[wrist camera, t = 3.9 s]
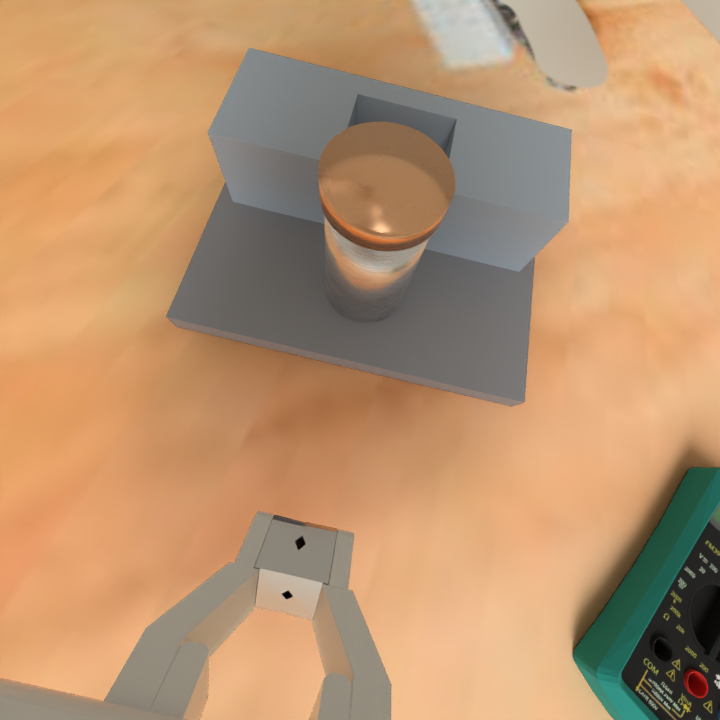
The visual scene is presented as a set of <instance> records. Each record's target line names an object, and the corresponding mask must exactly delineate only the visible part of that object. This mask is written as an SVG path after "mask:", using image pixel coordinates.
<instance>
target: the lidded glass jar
mask: <svg viewBox="0 0 720 720" xmlns="http://www.w3.org/2000/svg"><path fill="white" fill-rule="evenodd" d="M318 177H319V199H320V205H321V208H322V211H323V213H324V226H325V282H326V293H327V296H328V299H329V301H330V303H331V304H332V306H333V307H334V308H335V309H336V310H337V311H338V312H339V313H340V314H341V315H343V316H345V317H346V318H348V319H351V320H354V321H357V322H365V323H369V322H376V321H380V320H383V319H385V318H387V317H388V316H390V315H391V314H392V313H393V312H395V310H396V309H397V308H398V307H399V305H400V303H401V301H402V299H403V296H404V294H405V292H406V290H407V287H408V285H409V283H410V281H411V278H412V276H413V274H414V272H415V269H416V267H417V265H418V262H419V260H420V258H421V256H422V253H423V251H424V249H425V247H426V244H427V242H428V240H429V238H430V237H431V236H432V235H433V234H434V233H435V232H436V231H437V229H438V228H439V226H440V225H441V222H442V220H443V218H444V216H445V214H446V212H447V209H448V207H449V205H450V203H451V201H452V198H453V196H454V192H455V174H454V170H453V167H452V165H451V162H450V160H449V158H448V157H447V155H446V154H445V152H444V151H443V150H442V149H441V148H440V146H439V145H438V144H437V143H435V142H434V141H433V140H432V139H431V138H429V137H428V136H426V135H425V134H423V133H421V132H419V131H418V130H416V129H413V128H411V127H408V126H405V125H402V124H397V123H392V122H366V123H361V124H357V125H354V126H351V127H349V128H347V129H345V130H343V131H342V132H340V133H338V134H337V135H336V136H335V137H333V138H332V139H331V140H330V142H329V143H328V144H327V145H326V147H325V148H324V150H323V152H322V154H321V157H320V161H319V168H318Z"/></svg>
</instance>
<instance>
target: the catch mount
mask: <svg viewBox="0 0 720 720" xmlns="http://www.w3.org/2000/svg"><path fill="white" fill-rule="evenodd" d="M366 122H392V123H397V124H402V125H405V126H408V127H411V128H413V129H416V130H418V131H419V132H421V133H423V134H425V135H426V136H428V137H429V138H431V139H432V140H433V141H434V142H435V143H437V144H438V145H439V146H440V148H441V149H442V150H443V151H444V152H445V154H446V155H447V157H448V158H449V160H450V162H451V165H452V167H453V170H454V174H455V192H454V196H453V198H452V201H451V203H450V205H449V207H448V209H447V212H446V214H445V216H444V218H443V220H442V222H441V225H440V226H439V228H438V229H437V231H436V232H435V233H434V234H433V235H432V236H431V237H430V238H429V240H428V242H427V244H426V247H425V249H424V251H423V253H422V256H421V258H420V260H419V262H418V265H417V267H416V269H415V272H414V274H413V276H412V278H411V281H410V283H409V285H408V287H407V290H406V292H405V294H404V296H403V299H402V301H401V303H400V305H399V307H398V308H397V309H396V310H395V312H393V313H392V314H391V315H390V316H388V317H387V318H385V319H383V320H380V321H376V322H369V323H365V322H357V321H354V320H351V319H348V318H346V317H345V316H343V315H341V314H340V313H339V312H338V311H337V310H336V309H335V308H334V307H333V306H332V304H331V303H330V301H329V299H328V296H327V293H326V282H325V226H324V213H323V211H322V208H321V205H320V199H319V177H318V168H319V161H320V157H321V154H322V152H323V150H324V148H325V147H326V145H327V144H328V143H329V142H330V140H331V139H332V138H333V137H335V136H336V135H337V134H338V133H340V132H342V131H343V130H345V129H347V128H349V127H351V126H354V125H357V124H361V123H366ZM571 132H572V130H571V129H567V128H563V127H559V126H555V125H551V124H547V123H543V122H539V121H535V120H532V119H528V118H524V117H520V116H516V115H512V114H508V113H504V112H500V111H496V110H492V109H488V108H484V107H480V106H476V105H472V104H469V103H465V102H461V101H457V100H453V99H449V98H445V97H441V96H437V95H433V94H429V93H425V92H421V91H417V90H413V89H410V88H406V87H402V86H398V85H394V84H390V83H386V82H382V81H378V80H374V79H370V78H366V77H362V76H358V75H354V74H350V73H347V72H343V71H339V70H335V69H331V68H327V67H323V66H319V65H315V64H311V63H307V62H303V61H299V60H295V59H291V58H288V57H284V56H280V55H276V54H272V53H268V52H264V51H260V50H256V49H252V48H249V49H248V51H247V53H246V55H245V57H244V59H243V61H242V63H241V65H240V67H239V70H238V72H237V74H236V76H235V78H234V80H233V82H232V84H231V86H230V88H229V90H228V92H227V94H226V96H225V98H224V100H223V102H222V104H221V106H220V108H219V110H218V112H217V114H216V117H215V119H214V121H213V123H212V125H211V127H210V129H209V131H208V135H209V137H210V140H211V143H212V146H213V148H214V151H215V154H216V157H217V159H218V162H219V165H220V168H221V170H222V173H223V176H224V179H225V181H226V182H225V184H224V186H223V189H222V191H221V193H220V195H219V198H218V200H217V202H216V204H215V207H214V209H213V211H212V214H211V216H210V218H209V220H208V223H207V225H206V227H205V229H204V232H203V234H202V236H201V239H200V241H199V243H198V245H197V248H196V250H195V252H194V255H193V257H192V259H191V261H190V264H189V266H188V268H187V270H186V273H185V275H184V277H183V280H182V282H181V284H180V286H179V289H178V291H177V293H176V295H175V298H174V300H173V302H172V305H171V307H170V309H169V311H168V314H167V316H166V317H167V318H168V319H169V320H170V321H171V322H172V323H173V324H174V325H175V326H177V327H180V328H184V329H189V330H193V331H197V332H201V333H205V334H209V335H214V336H218V337H222V338H226V339H230V340H235V341H239V342H243V343H247V344H251V345H256V346H260V347H264V348H268V349H272V350H277V351H281V352H285V353H289V354H293V355H298V356H302V357H306V358H310V359H314V360H319V361H323V362H327V363H331V364H335V365H340V366H344V367H348V368H352V369H356V370H361V371H365V372H369V373H373V374H377V375H382V376H386V377H390V378H394V379H398V380H403V381H407V382H411V383H415V384H419V385H424V386H428V387H432V388H436V389H440V390H445V391H449V392H453V393H457V394H461V395H466V396H470V397H474V398H478V399H482V400H487V401H491V402H495V403H499V404H503V405H507V406H515V405H518V404H521V403H524V402H525V388H526V374H527V359H528V345H529V331H530V316H531V302H532V288H533V273H534V259H535V256H536V255H537V254H538V253H539V252H540V250H541V249H542V248H543V247H544V246H545V245H546V244H547V243H548V242H549V241H550V240H551V239H552V238H553V237H554V236H555V235H556V234H557V233H558V232H559V231H560V230H561V229H562V228H563V227H564V226H565V225H566V224H567V223H568V218H569V189H570V160H571Z"/></svg>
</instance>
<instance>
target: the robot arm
mask: <svg viewBox="0 0 720 720" xmlns="http://www.w3.org/2000/svg"><path fill="white" fill-rule="evenodd" d="M353 543H354V533H352V532H348V531H343V530H337V529H336V528H332V527H327V526H322V525H318V524H313V523H308V522H302V521H298V520H294V519H290V518H286V517H282V516H278V515H274V514H270V513H266V512H261V511H258V512H257V514H256V515H255V517H254V519H253V521H252V524H251V526H250V528H249V531H248V533H247V535H246V537H245V540H244V542H243V544H242V547H241V549H240V551H239V553H238V556H237V558H236V560H235V563H230V562H229V563H228V564H226V565H225V566H224V567H223V568H221V569H220V570H219V571H218V572H216V573H215V574H214V575H213V576H211V577H210V578H209V579H208V580H206V581H205V582H204V583H203V584H201V585H200V586H199V587H197V588H196V589H195V590H194V591H192V592H191V593H190V594H189V595H187V596H186V597H185V598H184V599H182V600H181V601H180V602H179V603H177V604H176V605H175V606H173V607H172V608H171V609H170V610H168V611H167V612H166V613H165V614H163V615H162V616H161V617H160V618H158V619H157V620H156V621H155V622H153V623H152V624H151V625H149V626H148V627H147V628H146V629H145V631H144V633H143V634H142V636H141V638H140V639H139V641H138V643H137V645H136V646H135V648H134V650H133V652H132V653H131V655H130V657H129V658H128V660H127V662H126V664H125V665H124V667H123V669H122V670H121V672H120V674H119V676H118V677H117V679H116V681H115V683H114V684H113V686H112V688H111V689H110V691H109V693H108V695H107V696H106V698H105V700H104V701H101V700H97V699H92V698H88V697H84V696H79V695H75V694H70V693H66V692H61V691H57V690H52V689H48V688H43V687H39V686H34V685H30V684H25V683H21V682H17V681H12V680H8V679H3V678H0V720H200V718H201V715H202V712H203V709H204V706H205V704H206V701H207V698H208V676H209V657H210V656H211V655H212V654H213V653H214V652H215V651H216V650H217V649H218V648H219V646H220V645H221V644H222V643H223V642H224V641H225V640H226V639H227V638H228V637H229V636H230V635H231V634H232V633H233V631H234V630H235V629H236V628H237V627H238V626H239V625H240V624H241V623H242V622H243V621H244V620H245V619H246V617H247V616H248V615H249V614H250V613H251V612H252V611H253V610H254V607H256V608H261V609H266V610H271V611H276V612H281V613H286V614H289V615H293V616H297V617H301V618H305V619H309V620H312V624H313V628H314V632H315V636H316V640H317V644H318V648H319V652H320V656H321V660H322V664H323V668H324V672H325V676H326V677H325V678H324V680H323V682H322V685H321V688H320V691H319V693H318V696H317V699H316V701H315V704H314V707H313V710H312V712H311V715H310V718H309V720H391V683H390V680H389V678H388V675H387V673H386V671H385V668H384V666H383V663H382V661H381V658H380V656H379V653H378V651H377V649H376V646H375V644H374V641H373V639H372V636H371V634H370V631H369V629H368V627H367V624H366V622H365V619H364V617H363V614H362V612H361V609H360V607H359V605H358V602H357V600H356V597H355V595H354V592H353V591H352V590H348V585H349V576H350V568H351V560H352V551H353Z"/></svg>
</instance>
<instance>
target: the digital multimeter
mask: <svg viewBox="0 0 720 720" xmlns="http://www.w3.org/2000/svg"><path fill="white" fill-rule="evenodd" d="M705 526H706V527H705ZM702 531H703V532H702ZM699 536H700V537H699ZM698 538H699V539H698ZM696 541H697V542H696ZM695 543H696V544H695ZM692 548H693V549H692ZM691 550H692V551H691ZM689 553H690V554H689ZM688 555H689V556H688ZM686 558H687V559H686ZM685 560H686V561H685ZM684 562H685V563H684ZM682 565H683V566H682ZM681 567H682V568H681ZM679 570H680V571H679ZM678 572H679V573H678ZM677 574H678V575H677ZM676 575H677V576H676ZM675 577H676V578H675ZM674 579H675V580H674ZM719 581H720V468H705V467H692V468H690V469H689V470H688V472H687V474H686V475H685V477H684V479H683V481H682V482H681V484H680V486H679V488H678V490H677V491H676V493H675V495H674V497H673V499H672V501H671V502H670V504H669V506H668V508H667V510H666V512H665V514H664V515H663V517H662V519H661V521H660V523H659V524H658V526H657V527H656V529H655V531H654V532H653V534H652V535H651V537H650V539H649V540H648V542H647V544H646V545H645V547H644V549H643V550H642V552H641V554H640V555H639V557H638V558H637V560H636V562H635V563H634V565H633V566H632V568H631V569H630V571H629V572H628V574H627V575H626V577H625V578H624V580H623V581H622V583H621V584H620V586H619V587H618V588H617V590H616V591H615V593H614V594H613V596H612V597H611V599H610V600H609V602H608V604H607V605H606V607H605V608H604V610H603V611H602V613H601V614H600V615H599V617H598V618H597V619H596V621H595V622H594V623H593V625H592V626H591V628H590V629H589V630H588V632H587V633H586V634H585V636H584V637H583V638H582V640H581V641H580V642H579V644H578V645H577V647H576V648H575V650H574V653H573V657H574V661H575V663H576V665H577V666H578V668H579V670H580V671H581V673H582V674H583V676H584V678H585V679H586V681H587V682H588V684H589V686H590V687H591V689H592V691H593V692H594V693H595V695H596V696H597V698H598V699H599V700H600V702H601V703H602V705H603V706H604V707H605V709H606V710H607V712H608V713H609V714H610V716H611V717H612V718H613V719H614V720H720V582H719ZM672 582H673V583H672ZM671 584H672V585H671ZM670 586H671V587H670ZM668 589H669V590H668ZM667 591H668V592H667ZM664 596H665V597H664ZM663 598H664V599H663ZM661 601H662V602H661ZM660 603H661V604H660ZM657 608H658V609H657ZM656 610H657V611H656ZM653 615H654V616H653ZM649 622H650V623H649ZM706 656H707V657H708V658H707V657H706ZM713 662H714V663H713Z"/></svg>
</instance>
